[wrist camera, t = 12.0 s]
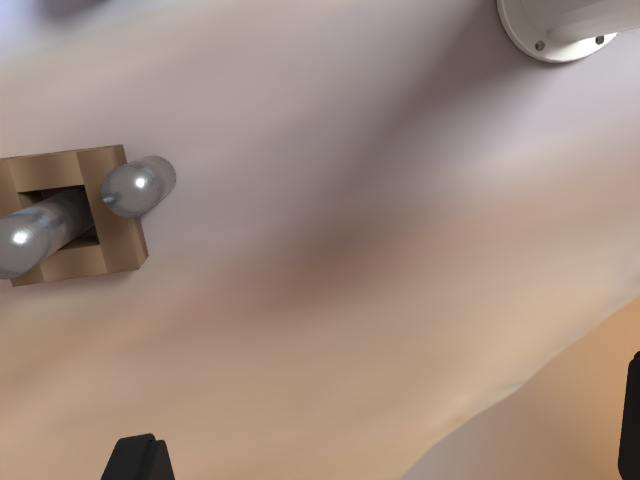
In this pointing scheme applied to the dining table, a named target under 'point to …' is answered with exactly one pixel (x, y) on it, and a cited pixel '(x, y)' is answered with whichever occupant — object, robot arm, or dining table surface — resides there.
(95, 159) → the socket block
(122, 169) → the medium pin
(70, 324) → the dining table surface
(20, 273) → the long pin
